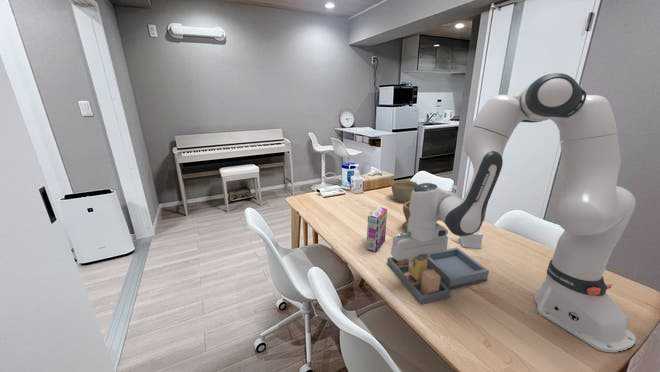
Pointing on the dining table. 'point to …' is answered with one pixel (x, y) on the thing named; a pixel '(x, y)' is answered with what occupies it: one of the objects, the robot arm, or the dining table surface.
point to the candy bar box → (376, 229)
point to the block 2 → (430, 282)
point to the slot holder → (418, 284)
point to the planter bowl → (403, 190)
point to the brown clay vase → (406, 211)
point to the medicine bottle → (472, 240)
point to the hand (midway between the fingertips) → (417, 265)
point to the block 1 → (402, 262)
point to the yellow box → (418, 267)
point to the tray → (456, 268)
